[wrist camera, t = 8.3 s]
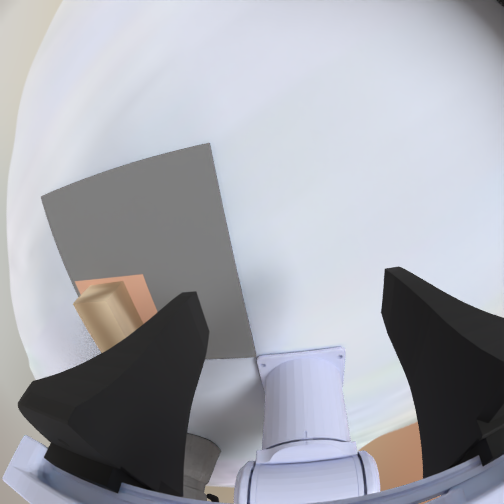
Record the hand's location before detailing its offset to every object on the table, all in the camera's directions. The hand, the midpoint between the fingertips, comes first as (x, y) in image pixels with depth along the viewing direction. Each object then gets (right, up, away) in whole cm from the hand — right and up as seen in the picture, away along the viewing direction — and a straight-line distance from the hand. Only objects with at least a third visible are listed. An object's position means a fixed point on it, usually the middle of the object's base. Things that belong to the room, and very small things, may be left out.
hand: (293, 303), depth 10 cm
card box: (-13, -4, +13) cm, 19 cm away
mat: (-11, 0, +11) cm, 16 cm away
